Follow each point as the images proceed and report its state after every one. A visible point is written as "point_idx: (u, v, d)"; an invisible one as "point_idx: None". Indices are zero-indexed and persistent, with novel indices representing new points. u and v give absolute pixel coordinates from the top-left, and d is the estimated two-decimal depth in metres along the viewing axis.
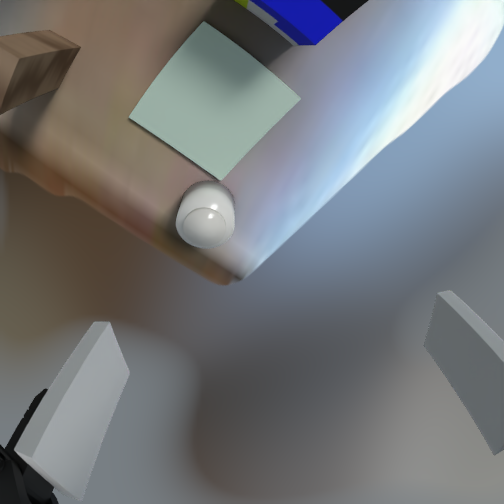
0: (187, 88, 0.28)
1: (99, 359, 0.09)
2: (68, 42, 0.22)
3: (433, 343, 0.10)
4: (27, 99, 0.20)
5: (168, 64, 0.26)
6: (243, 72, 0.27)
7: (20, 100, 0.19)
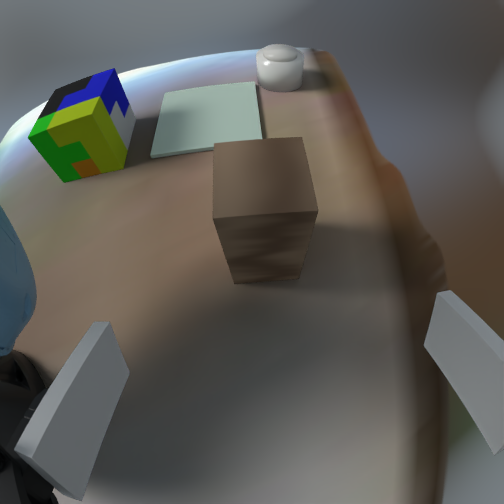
0: (207, 127, 0.35)
1: (99, 359, 0.09)
2: None
3: (433, 343, 0.10)
4: None
5: (198, 147, 0.34)
6: (171, 116, 0.37)
7: None
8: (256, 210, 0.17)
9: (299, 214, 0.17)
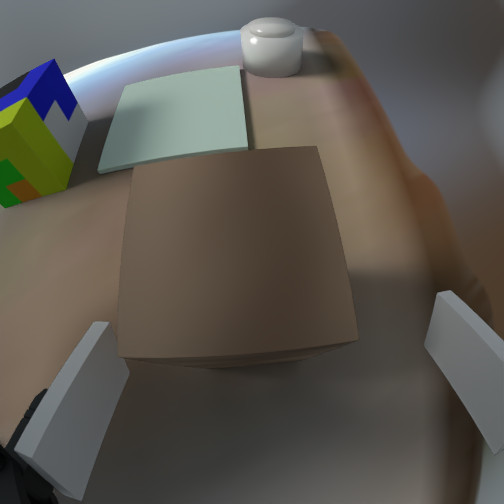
0: (172, 127, 0.25)
1: (99, 359, 0.09)
2: None
3: (433, 343, 0.10)
4: None
5: (158, 156, 0.24)
6: (129, 115, 0.27)
7: None
8: (211, 345, 0.07)
9: (313, 347, 0.07)
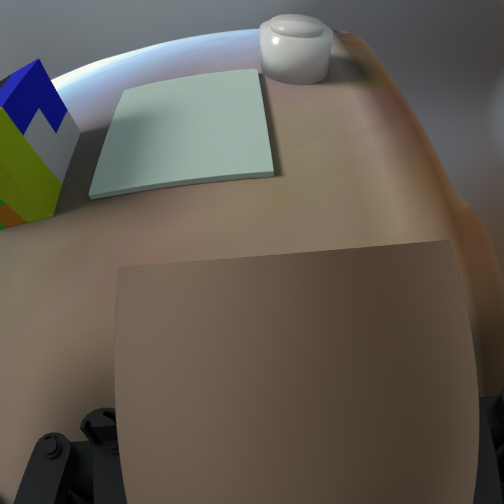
0: (179, 143, 0.21)
1: None
2: None
3: None
4: None
5: (162, 180, 0.20)
6: (127, 126, 0.23)
7: None
8: None
9: None
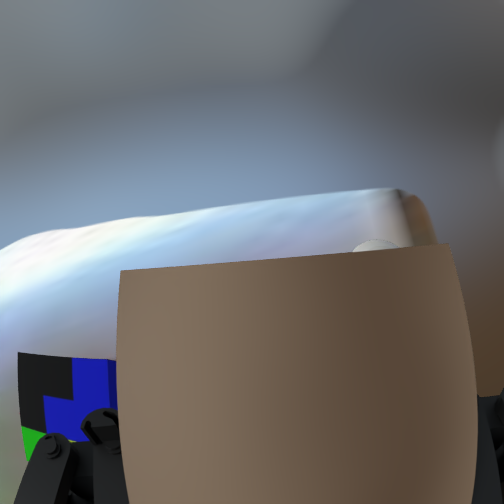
0: None
1: None
2: None
3: None
4: None
5: None
6: None
7: None
8: None
9: None
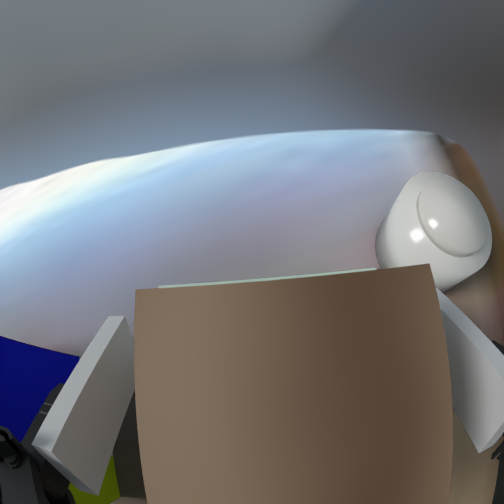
0: None
1: (115, 353, 0.09)
2: None
3: None
4: None
5: None
6: None
7: None
8: None
9: None
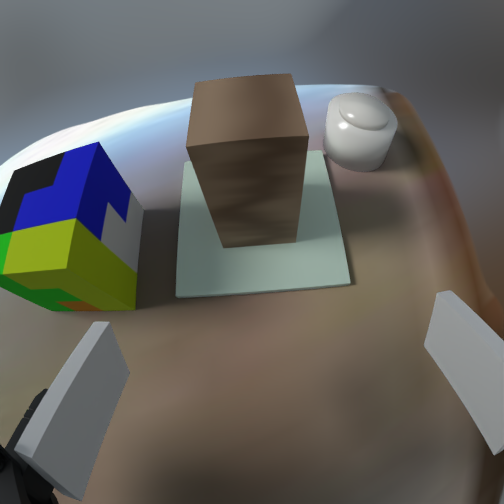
0: (262, 247, 0.24)
1: (99, 359, 0.09)
2: None
3: (433, 343, 0.10)
4: None
5: (252, 289, 0.23)
6: (201, 215, 0.26)
7: None
8: (236, 136, 0.14)
9: (286, 140, 0.14)
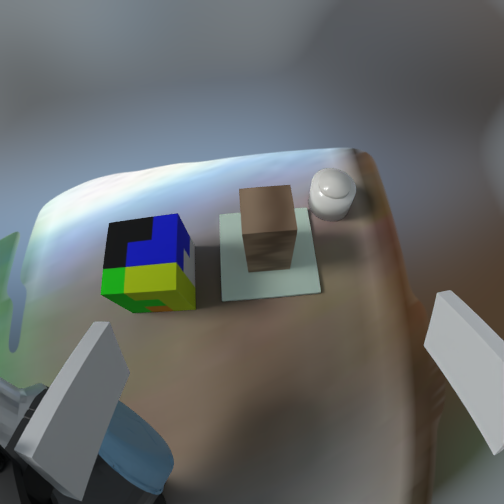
0: (271, 271, 0.43)
1: (99, 359, 0.09)
2: None
3: (433, 343, 0.10)
4: None
5: (266, 295, 0.41)
6: (233, 252, 0.44)
7: None
8: (264, 230, 0.32)
9: (287, 231, 0.32)
